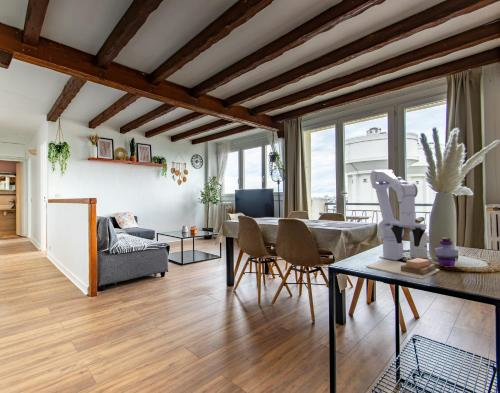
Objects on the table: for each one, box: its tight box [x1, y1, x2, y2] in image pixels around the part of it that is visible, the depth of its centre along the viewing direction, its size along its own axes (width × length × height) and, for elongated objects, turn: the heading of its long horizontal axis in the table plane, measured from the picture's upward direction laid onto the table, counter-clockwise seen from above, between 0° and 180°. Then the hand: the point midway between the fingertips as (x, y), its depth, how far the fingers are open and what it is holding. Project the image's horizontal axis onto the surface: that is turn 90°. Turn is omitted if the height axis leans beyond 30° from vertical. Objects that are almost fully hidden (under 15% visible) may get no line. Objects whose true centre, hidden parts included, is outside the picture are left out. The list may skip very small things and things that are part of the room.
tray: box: [401, 263, 437, 276], centre depth 109 cm, size 12×8×2 cm, turn 127°
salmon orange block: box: [406, 258, 431, 269], centre depth 109 cm, size 4×8×4 cm, turn 119°
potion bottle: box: [434, 236, 459, 267], centre depth 115 cm, size 9×9×12 cm
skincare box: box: [409, 231, 428, 259], centre depth 131 cm, size 6×4×12 cm
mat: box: [365, 259, 440, 280], centre depth 114 cm, size 16×22×1 cm
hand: (407, 244), depth 116 cm, fingers open, 7 cm apart
